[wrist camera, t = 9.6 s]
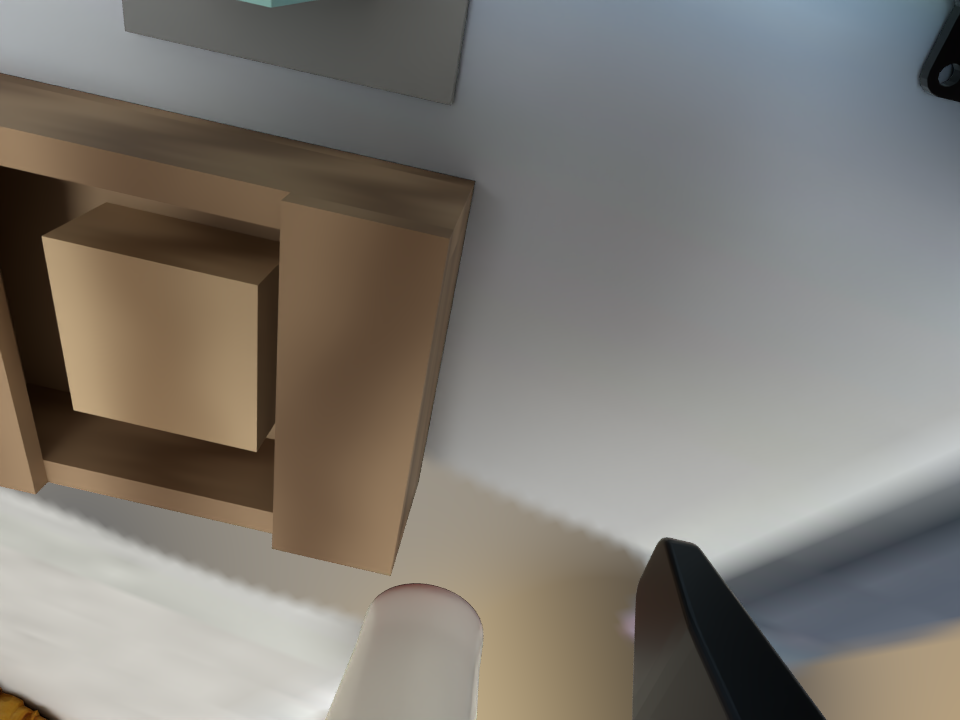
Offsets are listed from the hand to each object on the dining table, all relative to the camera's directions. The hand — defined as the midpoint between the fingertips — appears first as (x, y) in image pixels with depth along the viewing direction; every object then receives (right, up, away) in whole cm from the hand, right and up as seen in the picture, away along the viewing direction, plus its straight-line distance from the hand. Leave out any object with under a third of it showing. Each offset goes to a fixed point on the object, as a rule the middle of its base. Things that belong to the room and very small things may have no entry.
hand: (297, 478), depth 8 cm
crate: (-7, +3, +14) cm, 16 cm away
